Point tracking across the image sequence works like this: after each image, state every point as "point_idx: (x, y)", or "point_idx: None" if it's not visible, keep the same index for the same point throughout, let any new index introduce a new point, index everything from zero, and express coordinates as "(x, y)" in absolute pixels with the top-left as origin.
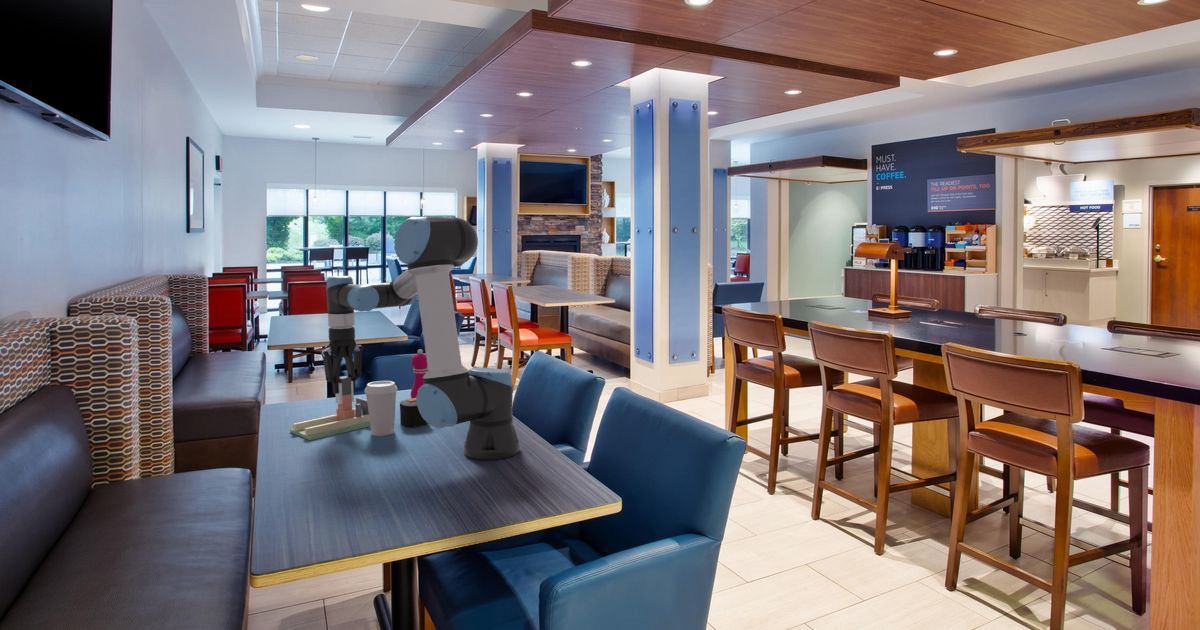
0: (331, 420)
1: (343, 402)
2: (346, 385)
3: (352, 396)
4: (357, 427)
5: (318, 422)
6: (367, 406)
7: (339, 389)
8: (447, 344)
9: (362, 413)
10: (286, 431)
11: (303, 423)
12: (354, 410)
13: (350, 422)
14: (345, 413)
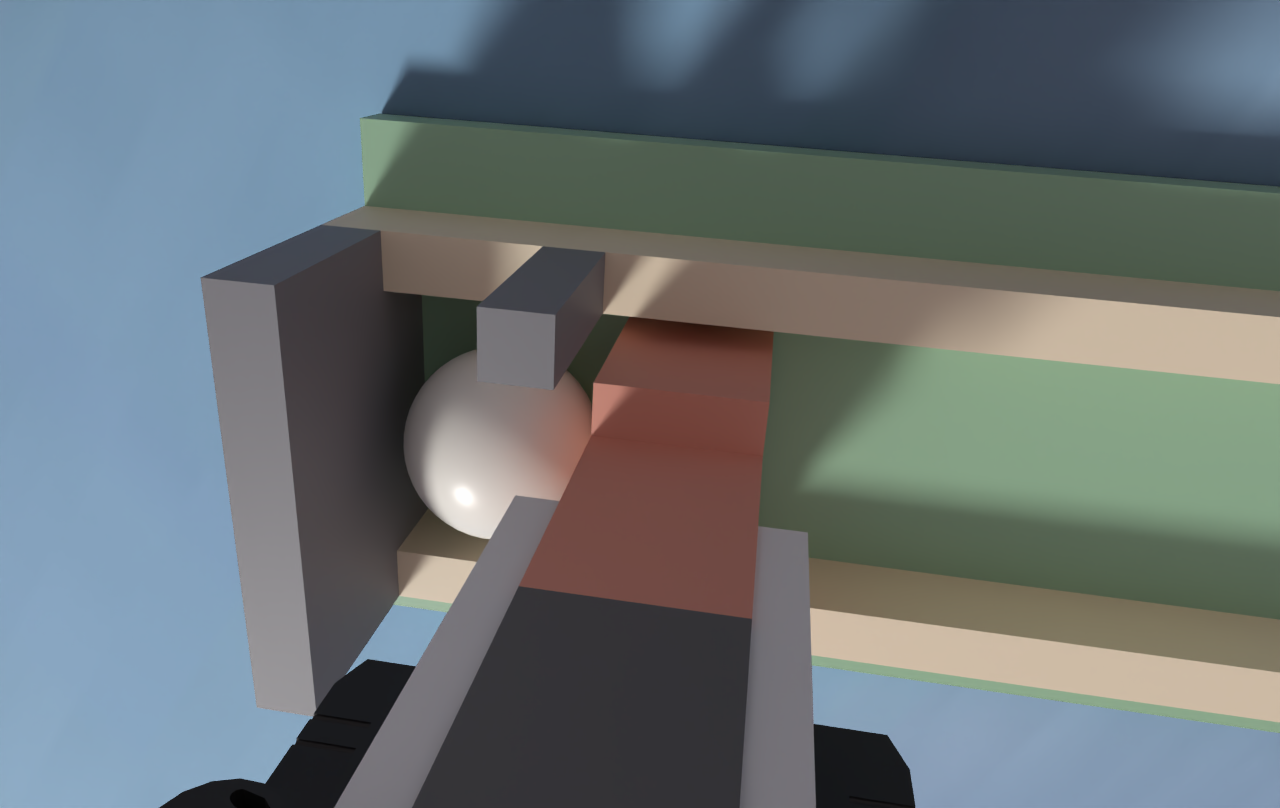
0: (813, 575)
1: (744, 529)
2: (591, 779)
3: (510, 554)
4: (697, 143)
5: (1011, 608)
6: (331, 356)
7: (810, 770)
8: None
9: (446, 366)
10: (1269, 767)
11: (1257, 661)
12: (537, 443)
13: (747, 251)
14: (760, 387)
